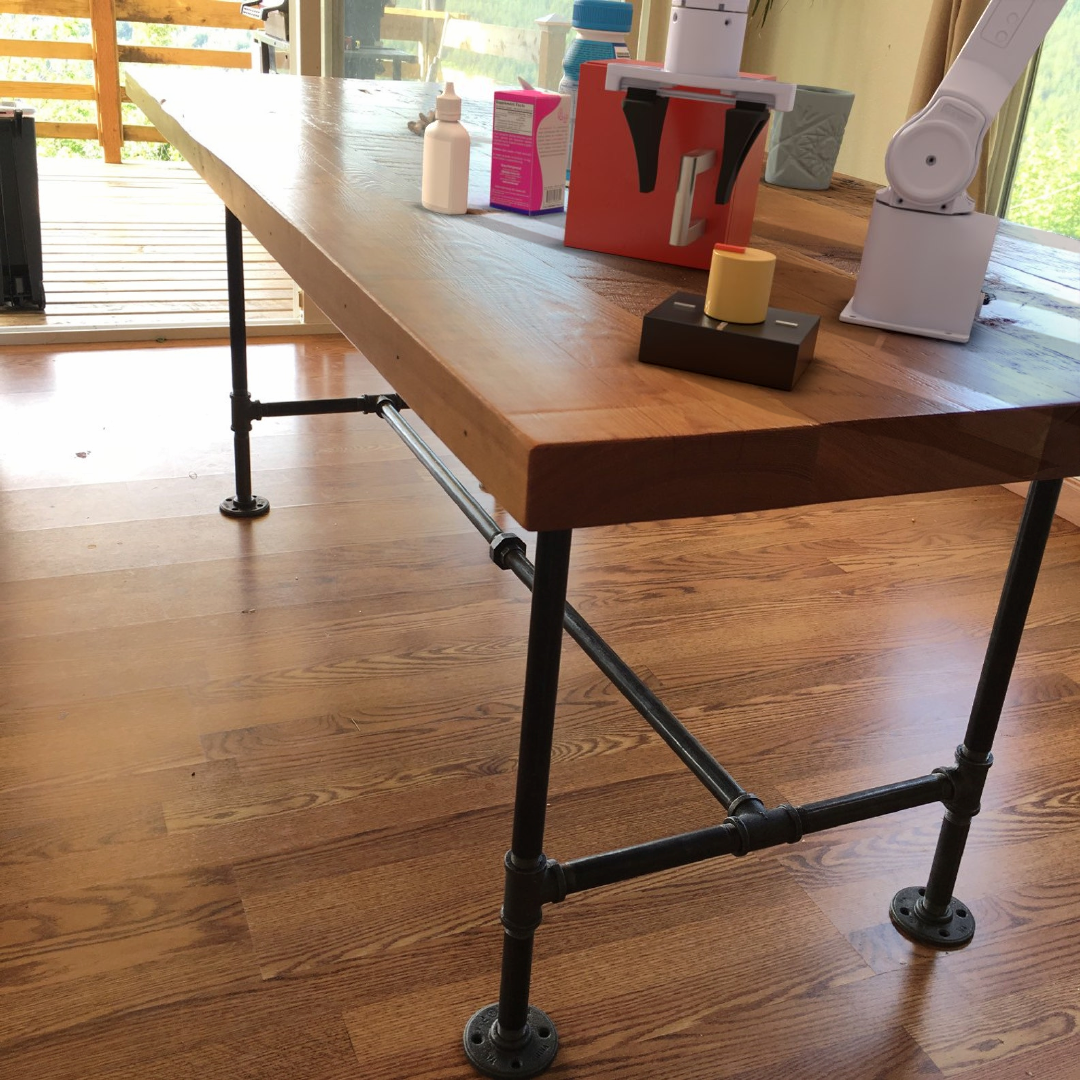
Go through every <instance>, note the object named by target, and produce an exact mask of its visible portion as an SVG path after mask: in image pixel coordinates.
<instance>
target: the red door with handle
mask: <svg viewBox="0 0 1080 1080" xmlns="http://www.w3.org/2000/svg"><path fill="white" fill-rule="evenodd" d="M606 76H607V66H605V65H596V64H588V63H581V64H580V73H579V84H578V95H577V106H576V116H575V127H574V138H573V149H572V160H571V170H570V181H569V187H568V194H567V204H566V212H565V213H566V214H565V226H564V234H563V235H564V237H563V246H564V247H568V248H569V247H570V248H575V249H582V250H588V251H591V252H592V251H593V252H599V253H604V254H610V255H616V256H623V257H628V258H634V259H639V260H645V261H652V262H658V263H663V264H669V265H675V266H680V267H687V268H692V269H699V270H704V271H709V272H710V269H711V262H712V256H713V250H714V246H715V244H716V243H720V244H726V243H727V237H728V230H729V224H730V218H731V211H732V205H733V198H734V192H735V186H736V181H735V184H734V187H733V190H732V193H731V197H730V200H729V202H728V203H726V204H725V205H719V204H715V196H716V188H717V183H718V178H719V174H720V169H721V164H722V156H723V146H724V133H725V114H726V109H730V108H735V105H732V104H724V103H716V102H708V101H700V100H692V99H684V98H676V97H670V98H669V104H668V108H667V112H666V116H665V120H664V125H663V130H662V135H661V141H660V146H659V157H658V169H657V179H656V184H655V189H654V191H652V192H649V193H640V192H639V177H638V167H637V160H636V154H635V149H634V144H633V140H632V136H631V133H630V130H629V126H628V123H627V121H626V118H625V115H624V113H623V110H622V99H625V98H626V95H627V91H611V90H605V86H606ZM662 88H663V89H671V90H679V91H687V92H696V93H704V94H712V95H720V96H729V97H735V95H725V94H721V93H720V92H721V90H720V89H709V88H699V87H690V86H682V85H678V86H677V87H673V88H665V87H662Z"/></svg>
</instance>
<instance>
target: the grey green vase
mask: <svg viewBox="0 0 1080 1080" xmlns="http://www.w3.org/2000/svg"><path fill="white" fill-rule="evenodd" d="M796 84H797V83H796ZM855 97H856V93H854V92H851V91H846V90H843V89H839V88H838V89H837V88H831V87H825V86H817V85H807V84H797V88H796V94H795V99H794V105H793V110H792V111H790V112H781V111H775V110H773V112H772V122H771V128H770V131H769V132H770V133H769V141H768V151H767V158H766V167H765V175H764V179H765V182H767V183H769V184H772V185H775V186H780V187H784V188H791V189H800V190H814V191H815V190H816V191H819V190H820V191H822V190H827V189H829V188H830V185H831V181H832V178H833V175H834V171H835V166H836V164H837V160H838V157H839V154H840V150H841V145H842V143H843V139H844V135H845V133H846V129H845V128H846V127H847V124H848V121H849V117H850V115H851V111H852V108H853V106H854V105H853V104H854V101H855Z"/></svg>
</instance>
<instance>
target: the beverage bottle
mask: <svg viewBox="0 0 1080 1080" xmlns="http://www.w3.org/2000/svg"><path fill="white" fill-rule="evenodd" d="M572 7H573V8H572V20H571V21H572V23H571V26H572V30H573V31H577V33H576V35H575V37H574V38H573V39H572V41H571V42H570V44H569V45H568V47H567V49H566V50H565V52H564V55H563V57H562V61H561V67H562V69H563V76H562V78H561V79H560V81H559V83H558V94H567V95H571V110H570V124H569V140H568V154H567V169H566V184H565V187H568V188H569V181H570V170H571V160H572V149H573V138H574V127H575V116H576V106H577V95H578V84H579V73H580V64H581V63H586V61H595V60H609V59H632V60H633V58H632V55H631V52H630V49H629V47H628V44H627V42H626V41H625V36H630V33H631V31H632V24H633V16H634V5H633V3H631V2H625V1H616V0H574V2H573V6H572Z"/></svg>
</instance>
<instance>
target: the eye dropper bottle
mask: <svg viewBox="0 0 1080 1080" xmlns="http://www.w3.org/2000/svg"><path fill="white" fill-rule="evenodd" d="M454 85H455V84H454V82H453V81H445V84H444V88H443V89H444V90H443V91H444V92H443V94H441V93H440V94H439V95H437V96H436V97H435V109H436V117H435V118H437V119H438V120H436V121H435V122H433V123H431V124H429V125H428V126H427V127H426V129H425V130H424V135H423V153H422V155H423V156H422V179H421V205H422V207H423V208H425V209H427V210H428V211H431V212H435V213H438V214H442V215H448V216H456V215H457V216H458V215H465V214H467V213H468V212H467V211H468V200H469V199H468V198H469V197H468V196H469V178H470V159H471V136H470V134H469V132H468V130H467V129H466V128H465V127H464V125H462V123H461V122H460V121H461V116H462V98H461V97H459V96H458V95H457V94H456V92H455V86H454Z"/></svg>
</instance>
